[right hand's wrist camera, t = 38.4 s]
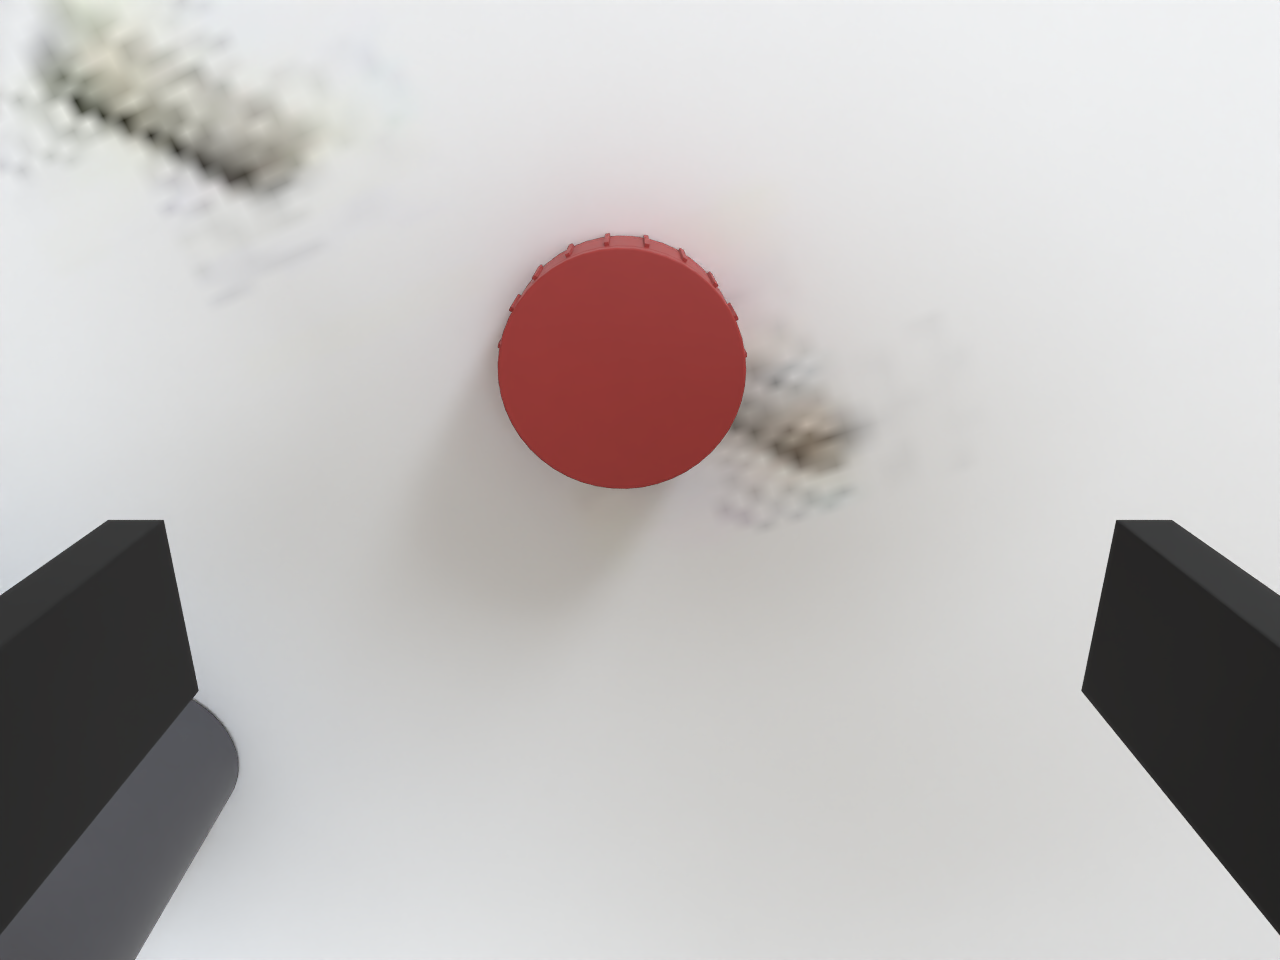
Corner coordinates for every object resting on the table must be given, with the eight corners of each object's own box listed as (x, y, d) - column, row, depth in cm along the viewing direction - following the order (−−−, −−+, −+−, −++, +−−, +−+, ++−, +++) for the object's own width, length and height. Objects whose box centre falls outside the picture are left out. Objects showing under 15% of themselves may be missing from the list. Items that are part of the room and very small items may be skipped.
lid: (549, 197, 21) (540, 205, 19) (774, 283, 22) (788, 300, 20) (478, 417, 23) (464, 445, 21) (687, 488, 24) (692, 522, 22)
